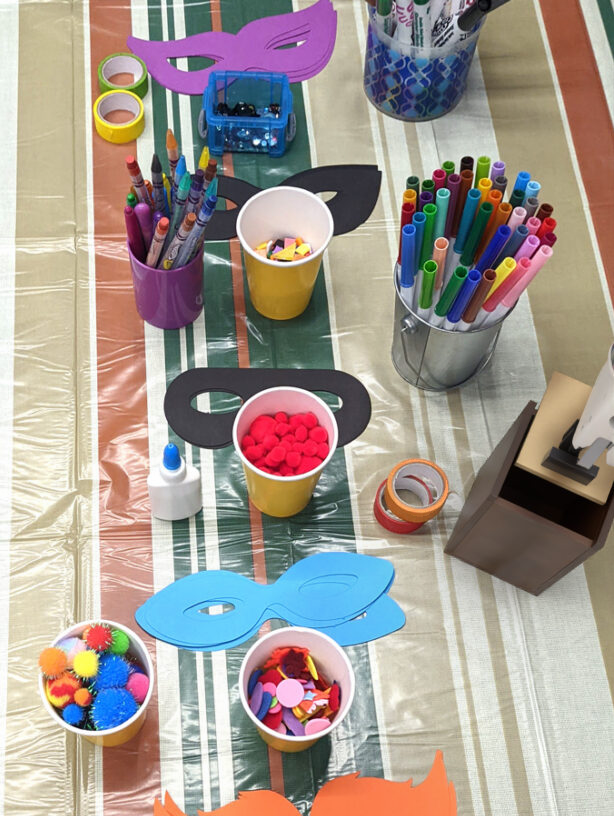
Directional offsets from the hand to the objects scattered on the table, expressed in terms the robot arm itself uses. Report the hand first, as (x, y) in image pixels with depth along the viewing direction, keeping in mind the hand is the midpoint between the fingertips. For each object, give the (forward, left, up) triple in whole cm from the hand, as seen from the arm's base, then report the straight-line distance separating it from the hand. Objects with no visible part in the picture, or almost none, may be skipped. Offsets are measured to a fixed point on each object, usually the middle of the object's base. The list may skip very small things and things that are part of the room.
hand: (574, 448), depth 90 cm
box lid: (0, -2, -2) cm, 3 cm away
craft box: (0, +2, -20) cm, 20 cm away
